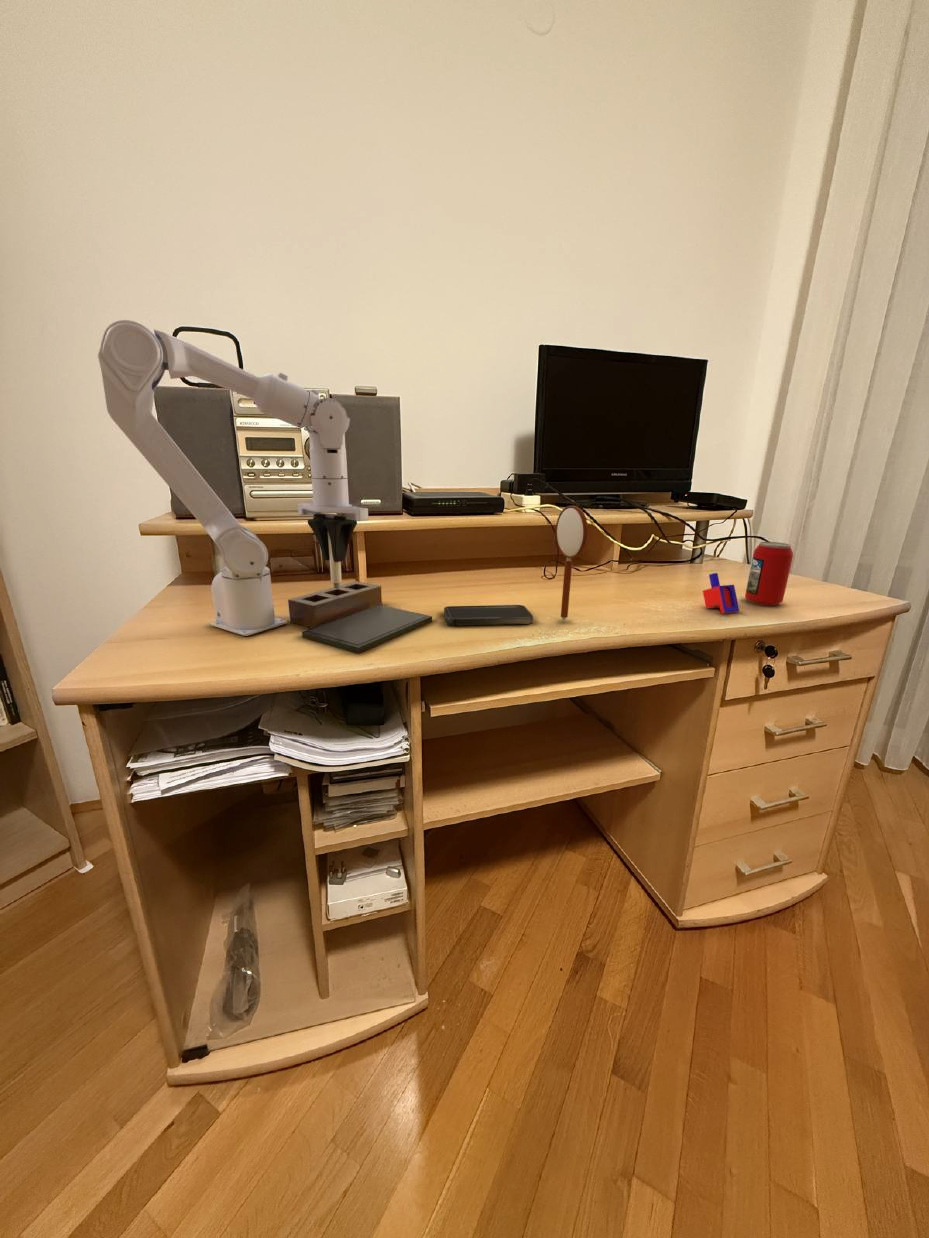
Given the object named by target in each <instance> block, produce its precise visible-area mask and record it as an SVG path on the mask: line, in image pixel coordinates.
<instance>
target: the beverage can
mask: <svg viewBox="0 0 929 1238" xmlns="http://www.w3.org/2000/svg"><path fill="white" fill-rule="evenodd" d="M793 558H794V552H793V549H792V545H791V544H790V543H786V542H785V543H784V542H777V541H760V542H759V544H758V545H757V546H756V548H755V549H754V550H753V554H752V559H751V563H750V568H749V574H748V578H747V583H746V589H745V594H744V598H746V599H747V600H748V601H749V603H753V604H754V605H760V606H767V607H768V606H771V607H773V606H776V605H779V604H781V603H783V601H784V597H785V594H786V589H787V586H788V581H789V578H790V577H789V576H790V572H791V568H792V564H793Z"/></svg>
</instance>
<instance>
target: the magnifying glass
mask: <svg viewBox="0 0 929 1238" xmlns="http://www.w3.org/2000/svg"><path fill="white" fill-rule="evenodd" d="M588 538H589V525H588V521H587V517H586V515H585V513H584V512H583V510H582V509H581V508H580V507H579V506H578V505H567V506H565V507H564V508H563V509H562V510H561V511H560V513H559V515H558V517H557V519H556V524H555V541H556V545H557V548H558V550H559V552H560V553H561V555H562V556H564V557H565V558H566V559H565V560H564V568H563V570H564V571H563V581H562V582H563V583H562V595H561V606H560V608H561V609H560V618H561V623H565V622H566V621H567V618H568V617H569V605H570V594H571V581H572V571H573V560H574V559H576V558H578V557H580V556H581V554H583V552H584V550H585V549H586V547H587V544H588ZM572 559H573V560H572Z"/></svg>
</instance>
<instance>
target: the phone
mask: <svg viewBox="0 0 929 1238" xmlns="http://www.w3.org/2000/svg"><path fill="white" fill-rule="evenodd" d="M443 615H444V620H445V623H446V625H448V626H494V625H530V624H533V621H534V620H533V619H534V616H533V614H532V612H530V611H529V610H528V608H527V607H526V606H525V605H522V604H501V605H500V604H499V605H498V604H496V605H495V604H494V605H491V604H490V605H450V606H449V605H448V606H444V607H443Z"/></svg>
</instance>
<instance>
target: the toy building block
mask: <svg viewBox="0 0 929 1238" xmlns="http://www.w3.org/2000/svg"><path fill="white" fill-rule="evenodd" d="M708 577H709V583H710V587H711V588H708V589H703V590H702V594H703V599H704V600H703V601H704V605H705V608H706V609H711V608H712V609H713V608H719V610H720V614H721V615H723V614H734V613H739V612H740V607H739V603H738V599H737V598H738V597H737V592H736V587H735V584H725V585H724V584H723V585H721V583H720V579H719V578H720V577H719V574H718V573H717V572H714V573H709V574H708Z"/></svg>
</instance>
